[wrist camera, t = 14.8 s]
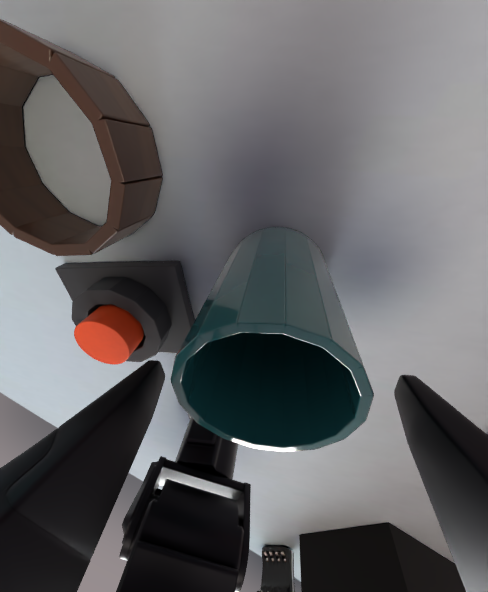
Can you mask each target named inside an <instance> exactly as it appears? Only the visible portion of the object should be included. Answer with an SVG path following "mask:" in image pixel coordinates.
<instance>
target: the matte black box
mask: <svg viewBox="0 0 488 592" xmlns="http://www.w3.org/2000/svg"><path fill="white" fill-rule="evenodd" d="M299 536H300V562H301V587H302V592H466V590H465V587H464V585H463V582H462V580H461V577H460V575H459V572H458V570H457V567H456V565H455V564H454V563H452V562H451V561H449V560H447V559H446V558H444V557H443V556H441V555H439V554H438V553H436V552H434V551H433V550H431V549H430V548H428V547H426V546H425V545H423V544H422V543H420V542H418V541H417V540H415V539H414V538H412V537H410V536H409V535H407V534H406V533H404V532H402V531H401V530H399V529H398V528H396V527H394V526H393V525H391V524H390V523H385V524H378V525H370V526H363V527H356V528H349V529H341V530H334V531H327V532H319V533H312V534H305V535H299Z"/></svg>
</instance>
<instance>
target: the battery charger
mask: <svg viewBox="0 0 488 592" xmlns="http://www.w3.org/2000/svg"><path fill="white" fill-rule="evenodd" d="M262 559H263V572H262V584H261V591H257V592H295V588H294V553H293V551H292V550H290V549H288V548H286V547H281V546H267V547H263V548H262Z"/></svg>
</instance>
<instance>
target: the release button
mask: <svg viewBox="0 0 488 592" xmlns="http://www.w3.org/2000/svg"><path fill="white" fill-rule="evenodd" d="M74 336H75V339H76V341H77V343H78V345H79V346H80V347H81V349H82V350H83V351H84V352H86V353H87V354H88V355H89V356H91V357H92V358H94V359H96V360H98V361H100V362H103V363H107V364H120V363H123V362H125V361H126V360H127V359H128V358H129V356H130V355H131V354H132V353H133V351H134V350H135V349H136V347H137V346H138V345H139V343H140V342H141V341H142V339H143V336H144V330H143V328H142V325H141V323H140V322H139V321H138V320H136V319H135V318H134V317H133V316H132V315H131V314H130V313H129V312H128V311H126V310H124V309H122V308H119V307H117V306H115V305H103V306H100V307H99V308H97V309H96V310H95V311H94V312H93V313H91V314H90V315H89V316H88V317H87V318H85V319H84V320H83V321H82V322H80V323H79V324H78V325H77V326H76V328H75V331H74Z"/></svg>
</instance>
